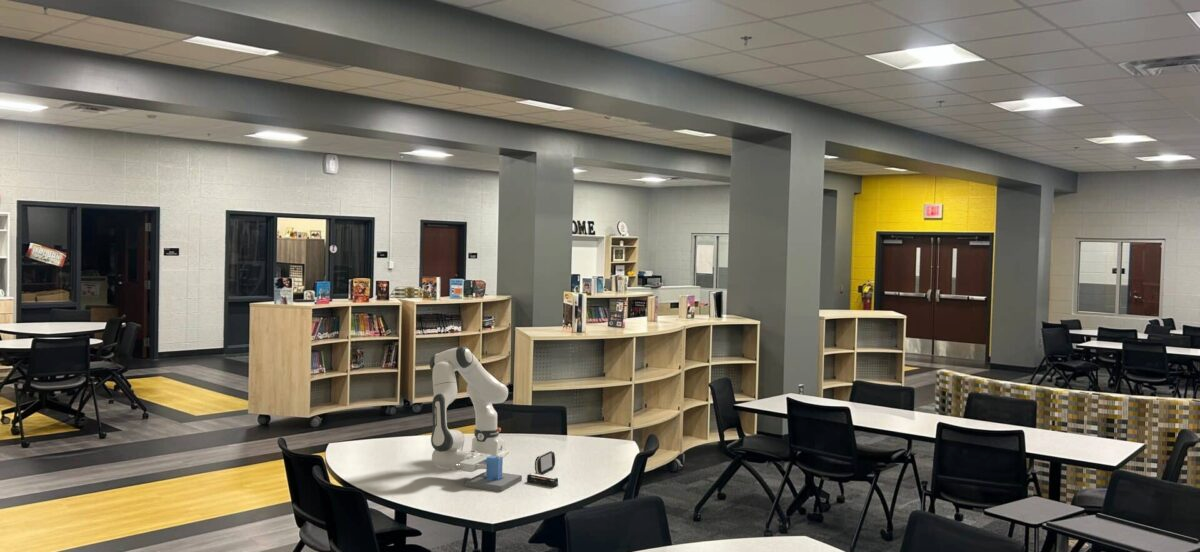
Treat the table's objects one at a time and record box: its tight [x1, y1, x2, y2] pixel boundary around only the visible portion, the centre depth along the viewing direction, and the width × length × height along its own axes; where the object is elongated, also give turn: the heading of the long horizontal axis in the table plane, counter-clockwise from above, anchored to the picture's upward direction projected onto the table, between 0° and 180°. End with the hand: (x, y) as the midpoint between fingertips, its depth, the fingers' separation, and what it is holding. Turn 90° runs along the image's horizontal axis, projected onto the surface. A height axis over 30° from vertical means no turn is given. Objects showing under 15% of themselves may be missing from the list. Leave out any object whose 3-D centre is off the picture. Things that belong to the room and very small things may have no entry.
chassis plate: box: [465, 471, 523, 493], centre depth 374 cm, size 20×18×2 cm
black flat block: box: [526, 472, 559, 488], centre depth 374 cm, size 14×25×4 cm, turn 61°
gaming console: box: [534, 450, 556, 475], centre depth 397 cm, size 19×9×2 cm
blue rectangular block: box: [485, 454, 504, 481], centre depth 374 cm, size 10×6×13 cm, turn 160°
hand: (492, 464), depth 374 cm, fingers open, 8 cm apart
